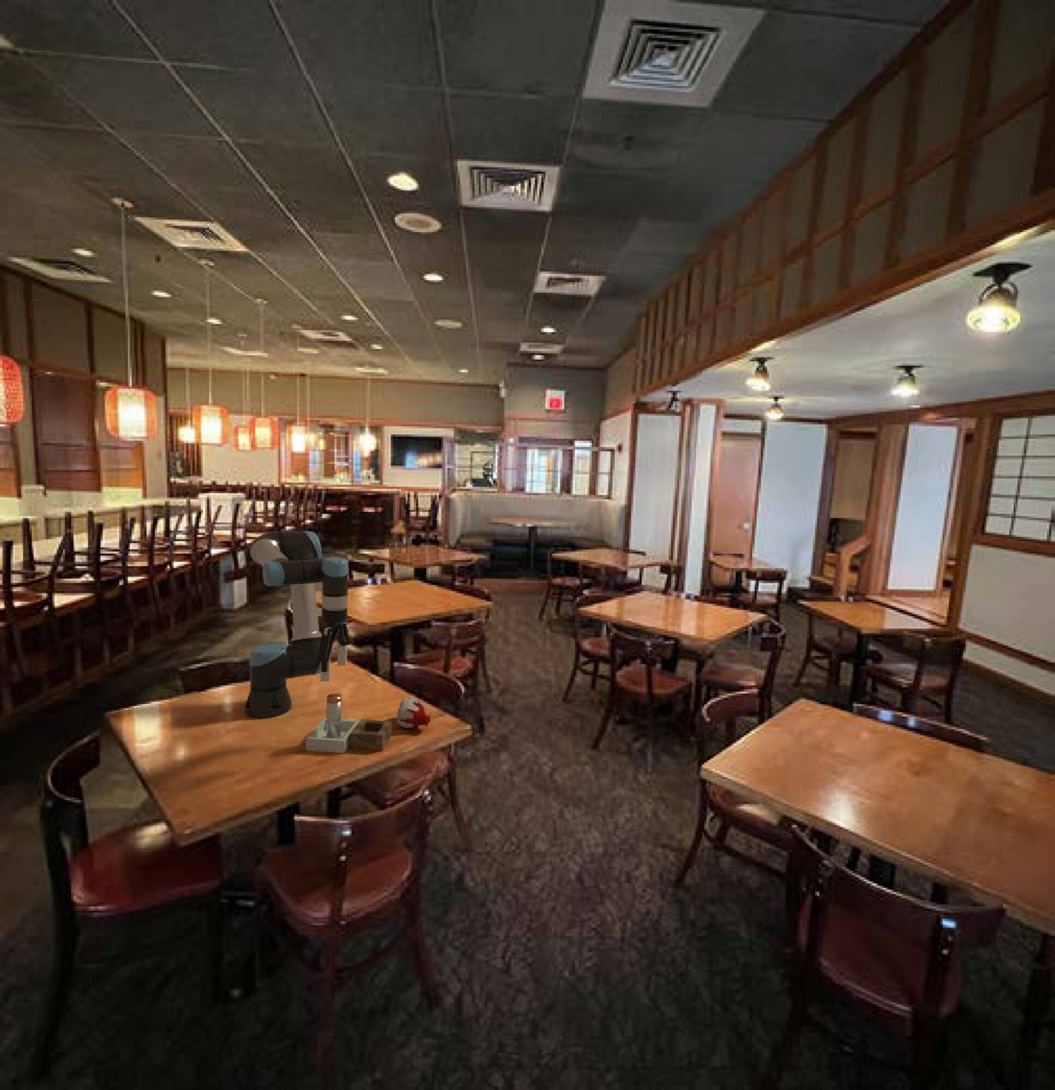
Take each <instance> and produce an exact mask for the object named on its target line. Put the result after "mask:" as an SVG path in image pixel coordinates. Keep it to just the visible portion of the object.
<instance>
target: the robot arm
mask: <svg viewBox="0 0 1055 1090" xmlns="http://www.w3.org/2000/svg"><path fill="white" fill-rule="evenodd" d="M322 551H323V550H322V545H321V542H320V539H319V536H318V535H317V534H316V533H315V532H314V531H310V530H309V531H308V530H307V531H305V530H292V531H291V530H290V531H268V532H264V533H263V534H261V535H259V536H257V537H256V538H255V539H253V541H252V542H251V544H250V546H249V555H250V557H251V559H252V560H253V562H255V563H256V564H258V565H261V567H262V579H263V584H264V585H265V586H267V587H281V586H289V587H290V595H291V598H290V599H291V610H292V620H293V634H294V635H293V636H292V638H291V639H290V641H289V642H290V644H289V645H287V644H286V642H284V641H271V642H266V643H262V644H259V645H257V646H256V647H254V648H253V649H252V650H251V651H250V653H249V654H250V655H249V680H250V681H249V689H250V690H249V694H248V696H247V699H246V701H245V704H244V713H245V715H247V716H248V717H250V718H254V719H255V718H257V719H267V718H273V717H277V716H280V715H284V714H285V713H287V712H289V711H290V710H291V708H292V706H293V704H292V698H291V695H290V692H289V690H288V686H287V680H288V679H289V680H290V679H293V678H295V679H296V678H301V677H307V676H314V675H315V676H316V675H319V674H320V676H319V677H320V682H325V683H326V682H330V681H331V654H332V650H333V647H334V643H335V642H336V641H337V643H338V645H337V663H336V664H337V666H347V656H348V655H347V651H348V650H347V649H348V646H350V644H351V643H350V641H351V640H350V635H349V629H348V625H347V620H348V605H349V601H348V600H349V599H348V598H349V597H348V595H349V594H348V590H349V585H348V584H349V561H348V560H347V559H346V558H344V557H337V556H335V557H334V556H332V557H323V556H322ZM316 584H321V587H322V588H321V597H320V599H321V607H322V609H321V620H322V621H323V622H325V623H326V627H325V628H324V627H323V628H321V632H320V625H319V618H318V617H319V616H318V605H317V604H318V603H317V592H316V591H317V590H316Z"/></svg>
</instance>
